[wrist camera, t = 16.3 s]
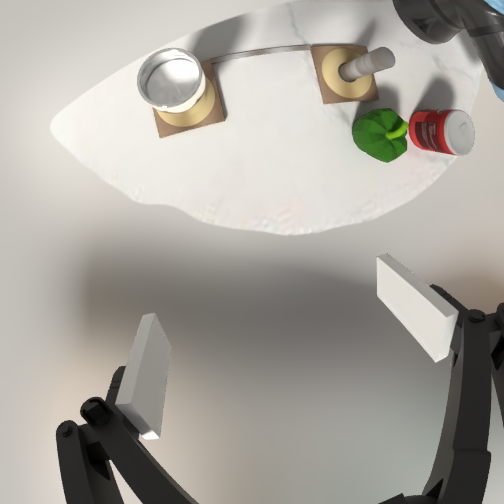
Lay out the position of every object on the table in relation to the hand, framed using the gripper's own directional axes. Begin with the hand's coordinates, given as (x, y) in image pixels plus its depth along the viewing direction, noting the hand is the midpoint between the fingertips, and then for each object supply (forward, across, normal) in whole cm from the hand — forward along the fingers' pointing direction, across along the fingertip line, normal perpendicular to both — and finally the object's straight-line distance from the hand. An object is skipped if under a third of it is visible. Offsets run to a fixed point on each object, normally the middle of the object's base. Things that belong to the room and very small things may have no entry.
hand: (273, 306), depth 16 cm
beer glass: (+30, -4, +17) cm, 35 cm away
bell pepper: (+32, +24, +6) cm, 40 cm away
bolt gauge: (+32, +9, +17) cm, 37 cm away
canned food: (+32, +37, +6) cm, 49 cm away
